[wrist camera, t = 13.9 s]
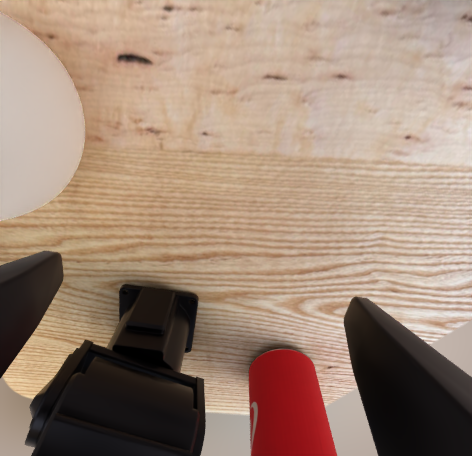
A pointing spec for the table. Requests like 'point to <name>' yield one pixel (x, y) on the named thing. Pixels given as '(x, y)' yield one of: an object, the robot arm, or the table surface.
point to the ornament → (35, 122)
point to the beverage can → (287, 407)
